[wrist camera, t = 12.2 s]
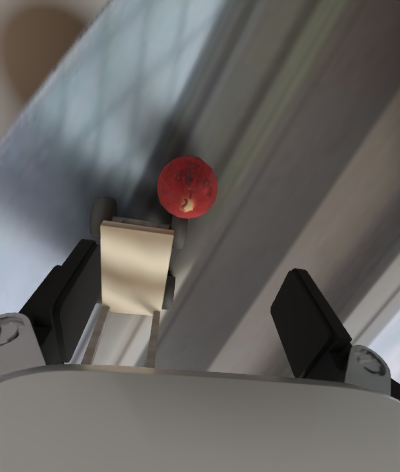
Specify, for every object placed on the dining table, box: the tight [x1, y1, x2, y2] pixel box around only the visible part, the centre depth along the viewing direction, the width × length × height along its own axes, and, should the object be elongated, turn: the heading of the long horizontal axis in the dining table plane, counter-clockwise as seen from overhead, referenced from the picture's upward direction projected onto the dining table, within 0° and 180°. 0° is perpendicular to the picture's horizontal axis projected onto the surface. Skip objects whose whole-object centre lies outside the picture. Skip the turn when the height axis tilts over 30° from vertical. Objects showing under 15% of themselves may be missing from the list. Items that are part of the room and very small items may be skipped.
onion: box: [157, 155, 217, 219], centre depth 22 cm, size 6×6×8 cm
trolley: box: [81, 197, 188, 368], centre depth 25 cm, size 14×10×14 cm, turn 169°
